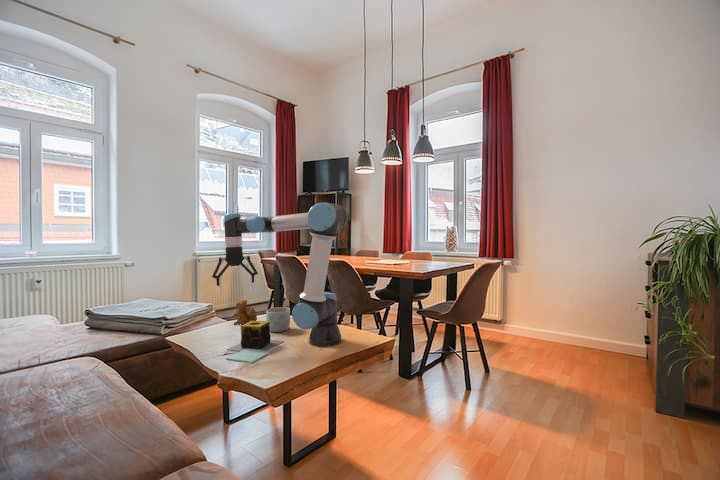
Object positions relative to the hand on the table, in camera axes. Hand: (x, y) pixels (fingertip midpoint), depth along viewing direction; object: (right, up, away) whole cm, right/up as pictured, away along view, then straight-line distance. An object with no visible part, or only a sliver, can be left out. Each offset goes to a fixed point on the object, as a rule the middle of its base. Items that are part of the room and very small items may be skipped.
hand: (236, 291), depth 168 cm
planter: (+15, -24, +21) cm, 35 cm away
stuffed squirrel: (-7, -24, +37) cm, 45 cm away
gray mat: (+11, -24, -4) cm, 27 cm away
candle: (+11, -24, -4) cm, 27 cm away
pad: (+12, -25, -18) cm, 33 cm away
